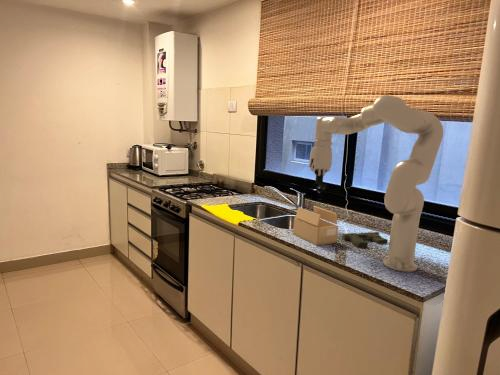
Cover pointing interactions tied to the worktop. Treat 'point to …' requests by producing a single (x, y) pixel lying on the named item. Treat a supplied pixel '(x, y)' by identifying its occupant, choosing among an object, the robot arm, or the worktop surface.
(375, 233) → the firearm
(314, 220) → the front flap
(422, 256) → the worktop surface
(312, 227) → the carton
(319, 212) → the back flap
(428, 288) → the worktop surface
